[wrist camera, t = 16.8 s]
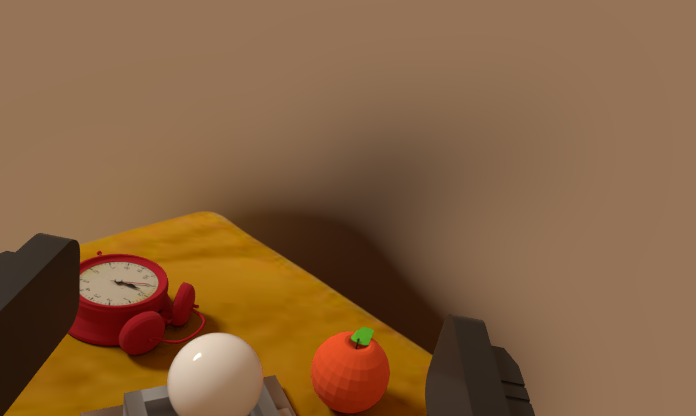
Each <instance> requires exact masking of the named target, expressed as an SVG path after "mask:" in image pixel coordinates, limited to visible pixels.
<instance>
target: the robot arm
mask: <svg viewBox="0 0 696 416" xmlns="http://www.w3.org/2000/svg"><path fill="white" fill-rule="evenodd" d="M79 302H80V247H79V243H78V242H77V241H76V240H73V239H68V238H63V237H57V236H53V235H48V234H43V233H39V234H36V235H35V236H34V237H33V238H31V239H30V240H29V241H28V242H27V243H26V244H25V245H23V246H22V247H21V248H20V249H19V250H18V251H16V252H10V251H5V252H3V253H0V416H3V415H4V414H5V413H6V411H7V410H8V409H9V407H10V406H11V405H12V404H13V402H14V401H15V400H16V398H17V397H18V396H19V395H20V393H21V392H22V391H23V389H24V388H25V387H26V386H27V384H28V383H29V382H30V380H31V379H32V378H33V377H34V375H35V374H36V373H37V371H38V370H39V369H40V368H41V366H42V365H43V364H44V362H45V361H46V360H47V359H48V357H49V356H50V355H51V353H52V352H53V351H54V349H55V348H56V347H57V346H58V344H59V343H60V342H61V340H62V339H63V338H64V337H65V335H66V334H67V333H68V331H69V330H70V329H71V327H72V325H73V323H74V321H75V319H76V316H77V313H78V308H79ZM524 385H525V384H524V381H523V378H522V375H521V372H520V369H519V366H518V365H517V364H516V362H515V361H514V360H513V359H512V357H511V356H510V355H509V354H508V353H507V351H506V350H505V349H504V348H501V347H496V346H491V344H490V340H489V337H488V333H487V330H486V326H485V323H484V322H483V321H482V320H478V319H473V318H468V317H463V316H457V315H452V314H449V315H448V316H447V317H446V319H445V322H444V324H443V327H442V331H441V333H440V336H439V339H438V343H437V345H436V348H435V352H434V355H433V357H432V360H431V363H430V366H429V369H428V374H427V379H426V387H425V400H426V409H427V416H535V414H534V411H533V408H532V405H531V404H530V403H529V402H530V399H529V396H528V393H527V390H526V388H524Z"/></svg>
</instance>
